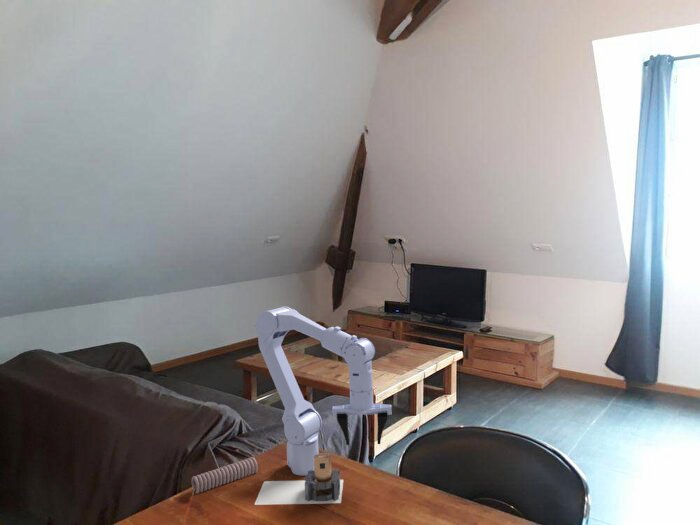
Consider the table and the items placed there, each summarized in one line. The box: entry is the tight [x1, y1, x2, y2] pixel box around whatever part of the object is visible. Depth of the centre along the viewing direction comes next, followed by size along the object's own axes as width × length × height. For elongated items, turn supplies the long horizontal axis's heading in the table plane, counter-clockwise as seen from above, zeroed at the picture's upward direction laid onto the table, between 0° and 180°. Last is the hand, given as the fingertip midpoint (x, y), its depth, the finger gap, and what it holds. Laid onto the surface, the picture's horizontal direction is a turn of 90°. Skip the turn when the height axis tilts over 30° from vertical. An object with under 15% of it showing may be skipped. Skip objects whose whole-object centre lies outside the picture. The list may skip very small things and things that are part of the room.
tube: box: [314, 452, 333, 494], centre depth 133 cm, size 4×4×9 cm
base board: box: [254, 479, 344, 506], centre depth 135 cm, size 20×12×1 cm, turn 88°
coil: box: [191, 456, 259, 496], centre depth 143 cm, size 5×5×18 cm
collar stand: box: [304, 469, 341, 501], centre depth 134 cm, size 8×8×4 cm
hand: (363, 443), depth 139 cm, fingers open, 7 cm apart
